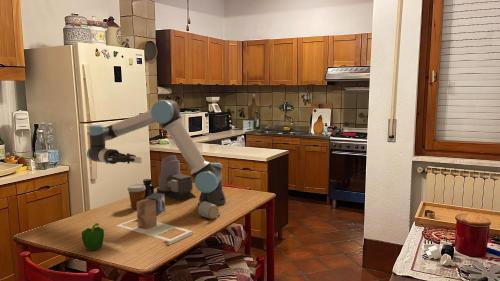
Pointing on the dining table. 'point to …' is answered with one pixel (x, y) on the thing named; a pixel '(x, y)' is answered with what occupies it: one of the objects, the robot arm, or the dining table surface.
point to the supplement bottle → (148, 187)
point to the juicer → (174, 180)
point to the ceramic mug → (208, 210)
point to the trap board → (159, 231)
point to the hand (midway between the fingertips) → (140, 160)
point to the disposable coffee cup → (136, 194)
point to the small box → (158, 202)
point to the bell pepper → (93, 237)
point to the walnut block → (146, 214)
